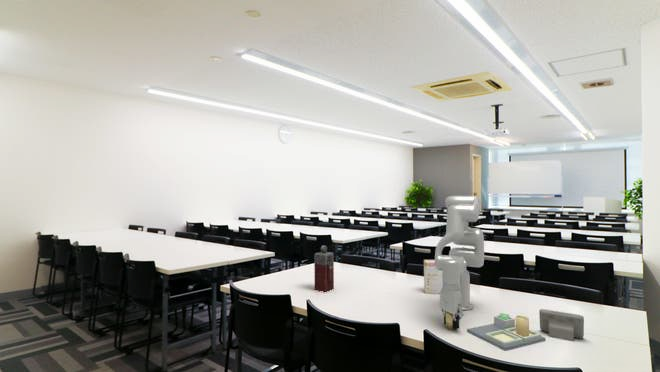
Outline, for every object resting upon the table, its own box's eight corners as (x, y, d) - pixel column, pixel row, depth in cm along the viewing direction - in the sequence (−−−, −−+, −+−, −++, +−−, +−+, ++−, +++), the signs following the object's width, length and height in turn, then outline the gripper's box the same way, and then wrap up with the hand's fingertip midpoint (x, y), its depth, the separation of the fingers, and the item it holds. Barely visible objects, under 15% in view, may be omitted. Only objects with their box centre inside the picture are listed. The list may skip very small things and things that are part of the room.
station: (467, 331, 156) (467, 312, 156) (504, 323, 165) (504, 305, 165) (505, 350, 137) (505, 328, 137) (545, 340, 146) (545, 320, 146)
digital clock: (585, 338, 149) (585, 313, 149) (581, 345, 142) (581, 318, 142) (542, 327, 160) (542, 304, 160) (536, 333, 154) (536, 309, 154)
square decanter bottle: (329, 293, 214) (329, 247, 215) (314, 290, 221) (314, 245, 221) (337, 289, 222) (336, 245, 222) (322, 287, 228) (322, 244, 228)
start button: (497, 323, 159) (497, 314, 160) (503, 322, 161) (503, 312, 161) (504, 327, 156) (504, 317, 156) (511, 325, 157) (511, 315, 157)
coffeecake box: (448, 291, 218) (448, 259, 218) (451, 294, 211) (450, 262, 211) (423, 290, 220) (423, 259, 220) (425, 293, 212) (425, 261, 213)
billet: (443, 327, 161) (443, 311, 161) (451, 325, 163) (451, 309, 163) (451, 331, 157) (450, 315, 157) (459, 329, 159) (459, 313, 159)
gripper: (432, 282, 167) (432, 321, 166) (458, 292, 151) (458, 334, 151) (444, 281, 169) (445, 318, 169) (471, 290, 154) (471, 332, 154)
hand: (451, 325), depth 160 cm, fingers closed on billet, 5 cm apart
